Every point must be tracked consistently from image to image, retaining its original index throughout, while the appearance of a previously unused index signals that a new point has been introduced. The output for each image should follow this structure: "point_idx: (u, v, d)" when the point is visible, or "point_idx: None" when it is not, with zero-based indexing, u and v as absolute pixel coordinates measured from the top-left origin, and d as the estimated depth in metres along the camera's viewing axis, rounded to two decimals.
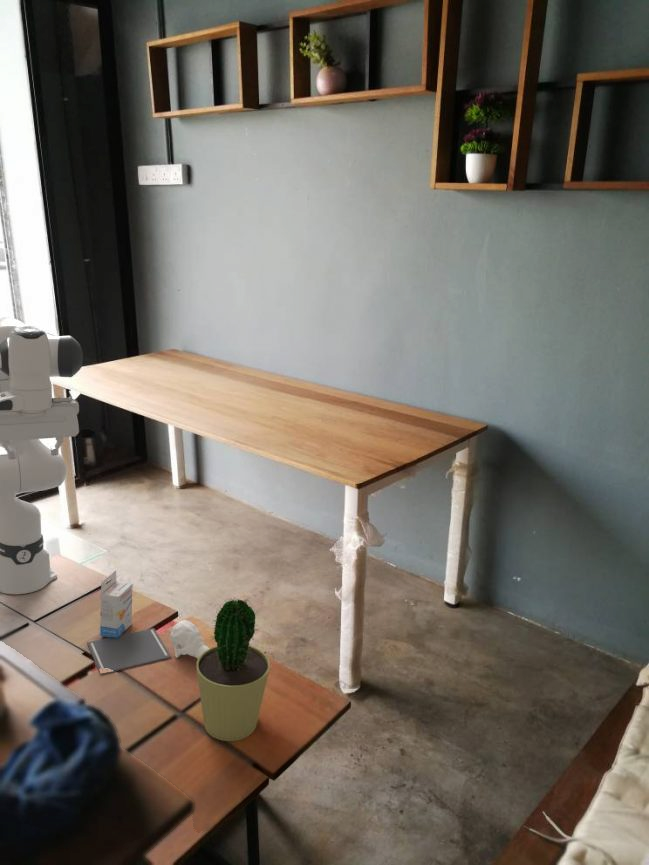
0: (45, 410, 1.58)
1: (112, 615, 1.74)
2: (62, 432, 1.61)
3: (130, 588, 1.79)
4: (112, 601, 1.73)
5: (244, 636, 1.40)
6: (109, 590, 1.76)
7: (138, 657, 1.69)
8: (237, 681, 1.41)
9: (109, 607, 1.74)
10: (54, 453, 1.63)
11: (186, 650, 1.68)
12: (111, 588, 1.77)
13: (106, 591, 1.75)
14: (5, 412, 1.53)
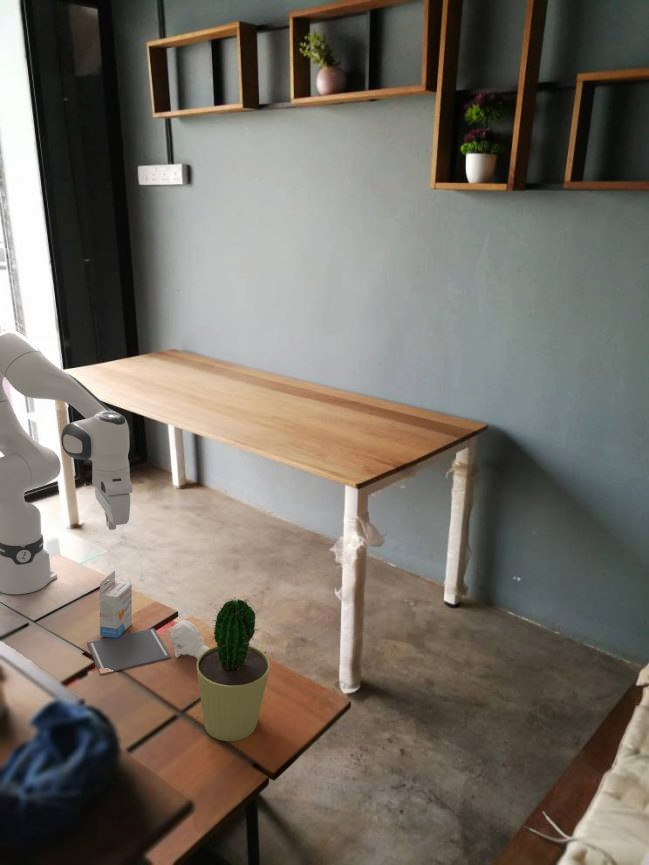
0: None
1: (111, 615, 1.74)
2: None
3: (129, 588, 1.79)
4: (111, 601, 1.73)
5: (244, 636, 1.40)
6: (108, 590, 1.75)
7: (138, 657, 1.69)
8: (237, 680, 1.41)
9: (108, 607, 1.74)
10: None
11: (186, 650, 1.68)
12: (110, 588, 1.77)
13: (105, 591, 1.75)
14: None
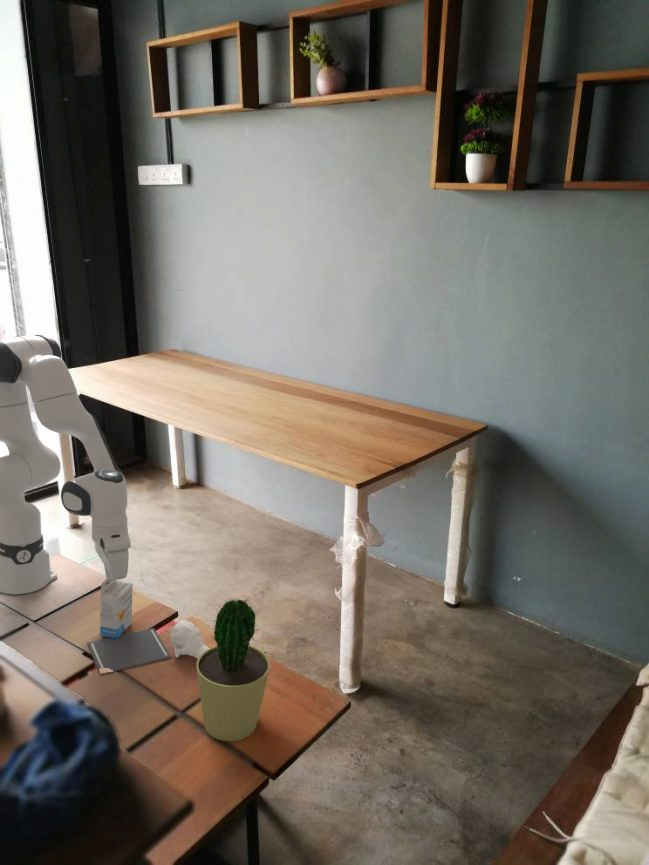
0: None
1: (112, 616, 1.74)
2: None
3: (130, 588, 1.79)
4: (112, 602, 1.73)
5: (244, 636, 1.40)
6: (109, 591, 1.75)
7: (138, 657, 1.69)
8: (237, 681, 1.41)
9: (109, 608, 1.73)
10: None
11: (186, 651, 1.68)
12: (111, 589, 1.76)
13: (106, 592, 1.74)
14: None
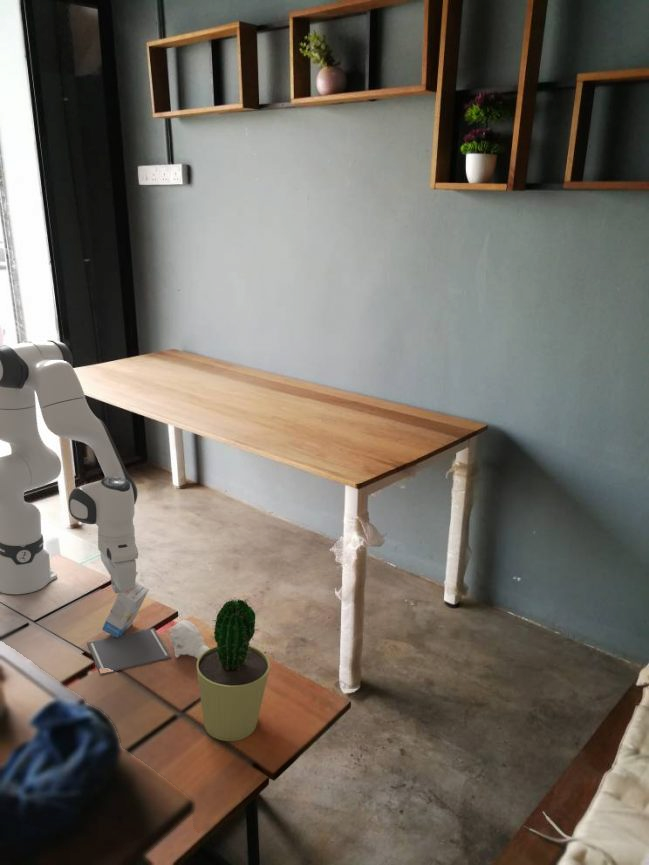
0: None
1: (122, 616, 1.74)
2: None
3: (145, 593, 1.79)
4: (127, 604, 1.73)
5: (244, 636, 1.40)
6: (127, 591, 1.75)
7: (138, 657, 1.69)
8: (237, 681, 1.41)
9: (122, 608, 1.73)
10: None
11: (186, 650, 1.68)
12: None
13: (124, 591, 1.74)
14: None
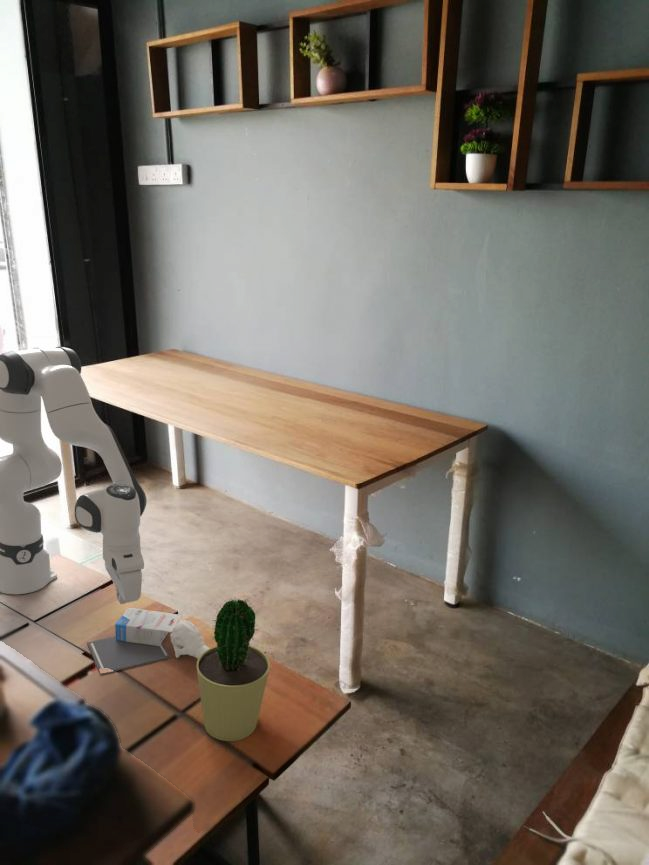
0: None
1: (139, 639, 1.73)
2: None
3: None
4: (153, 640, 1.73)
5: (244, 636, 1.40)
6: None
7: (138, 657, 1.69)
8: (237, 681, 1.41)
9: (146, 637, 1.73)
10: None
11: (187, 651, 1.68)
12: None
13: None
14: None
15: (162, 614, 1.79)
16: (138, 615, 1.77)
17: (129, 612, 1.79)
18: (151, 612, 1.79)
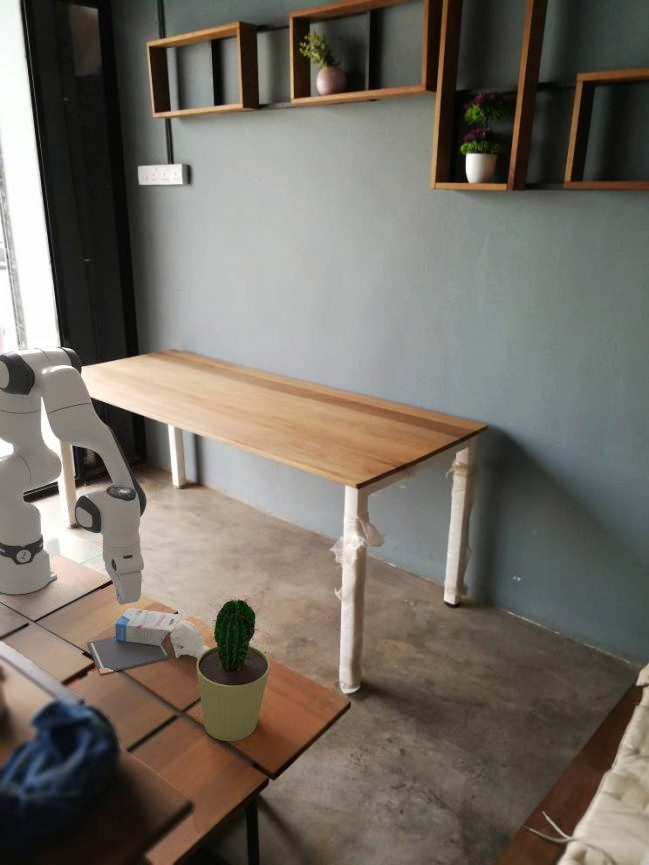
0: None
1: (139, 638, 1.73)
2: None
3: None
4: (153, 640, 1.73)
5: (244, 636, 1.40)
6: None
7: (138, 657, 1.69)
8: (237, 681, 1.41)
9: (147, 636, 1.73)
10: None
11: (187, 651, 1.68)
12: None
13: None
14: None
15: (162, 614, 1.79)
16: (138, 615, 1.78)
17: (129, 612, 1.79)
18: (151, 612, 1.80)
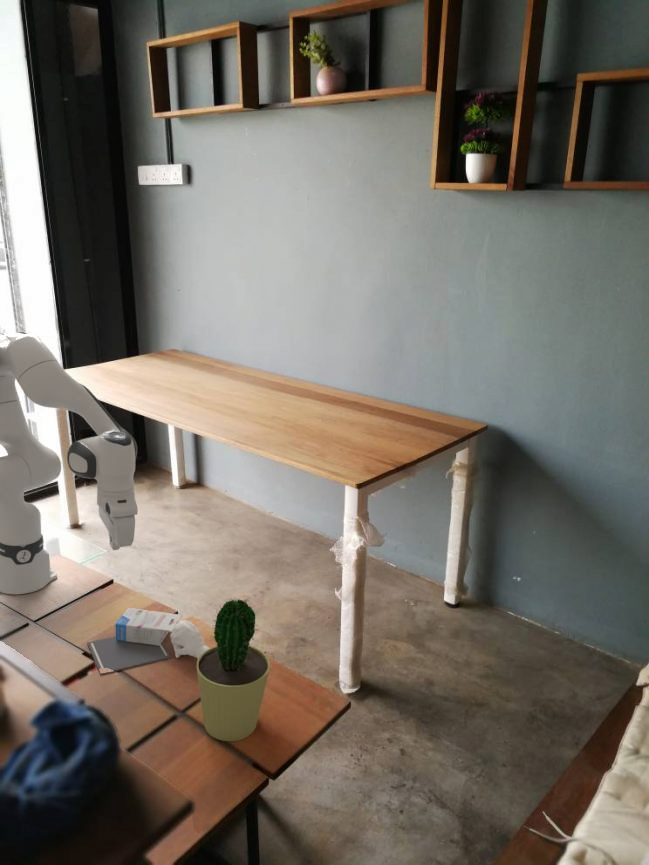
0: None
1: (139, 638, 1.73)
2: None
3: None
4: (153, 640, 1.73)
5: (244, 636, 1.40)
6: None
7: (138, 657, 1.69)
8: (237, 681, 1.41)
9: (147, 636, 1.73)
10: None
11: (187, 651, 1.68)
12: None
13: None
14: None
15: (162, 614, 1.79)
16: (138, 615, 1.78)
17: (129, 612, 1.79)
18: (151, 612, 1.80)
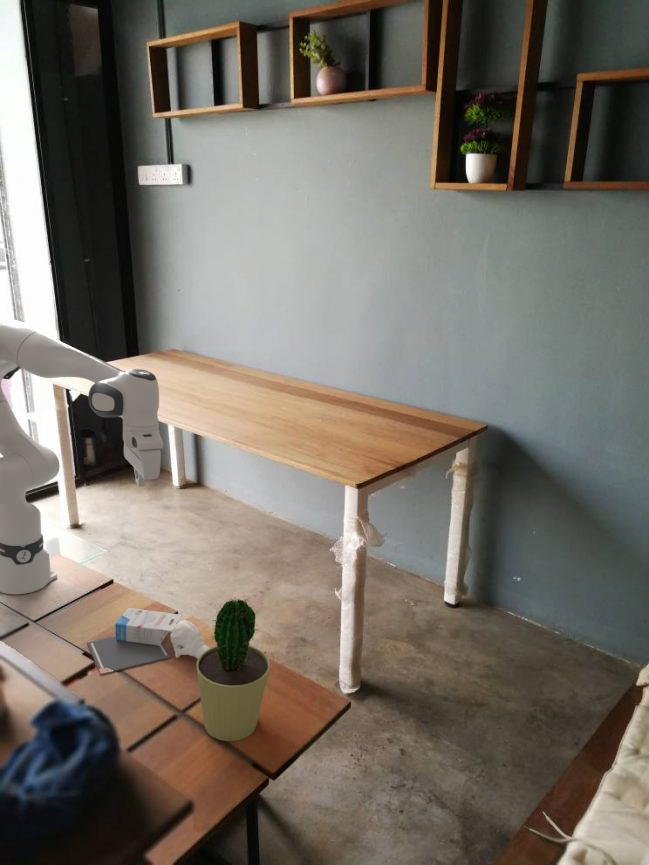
0: None
1: (139, 638, 1.73)
2: None
3: None
4: (153, 640, 1.73)
5: (244, 636, 1.40)
6: None
7: (138, 657, 1.69)
8: (237, 681, 1.41)
9: (147, 636, 1.73)
10: None
11: (187, 651, 1.68)
12: None
13: None
14: None
15: (162, 614, 1.79)
16: (138, 615, 1.78)
17: (129, 612, 1.79)
18: (151, 612, 1.80)
